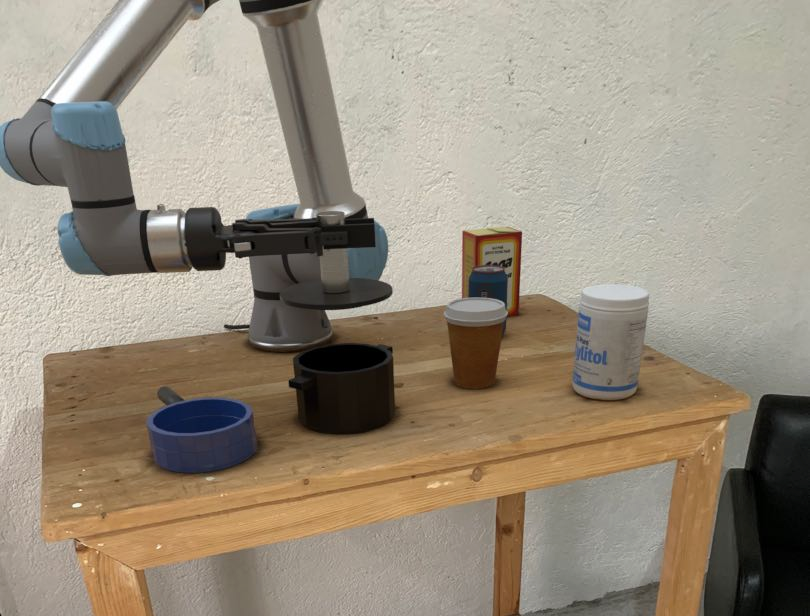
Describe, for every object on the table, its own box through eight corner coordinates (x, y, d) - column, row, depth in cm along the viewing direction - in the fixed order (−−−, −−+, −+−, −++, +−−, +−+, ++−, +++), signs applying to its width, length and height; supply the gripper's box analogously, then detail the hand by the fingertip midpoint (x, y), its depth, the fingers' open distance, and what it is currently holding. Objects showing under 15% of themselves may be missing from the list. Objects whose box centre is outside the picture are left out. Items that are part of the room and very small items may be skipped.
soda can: (496, 329, 149) (498, 262, 143) (512, 338, 144) (514, 270, 138) (462, 333, 148) (462, 266, 142) (476, 343, 142) (477, 273, 136)
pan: (141, 446, 106) (133, 411, 103) (234, 424, 112) (229, 390, 109) (173, 482, 96) (165, 444, 93) (273, 455, 102) (268, 419, 99)
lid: (257, 304, 104) (246, 217, 99) (332, 282, 114) (326, 201, 109) (341, 320, 96) (334, 226, 91) (415, 294, 106) (413, 208, 101)
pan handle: (156, 400, 114) (153, 386, 113) (171, 397, 115) (169, 382, 114) (180, 422, 106) (177, 406, 105) (195, 418, 107) (193, 403, 106)
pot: (265, 426, 111) (257, 367, 106) (354, 387, 123) (350, 333, 119) (338, 449, 103) (333, 386, 99) (424, 405, 116) (423, 347, 112)
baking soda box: (474, 320, 155) (475, 233, 147) (461, 312, 160) (462, 228, 152) (518, 315, 158) (522, 229, 150) (504, 307, 163) (507, 224, 155)
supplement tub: (559, 393, 119) (566, 293, 111) (591, 376, 125) (599, 280, 117) (619, 407, 113) (630, 302, 106) (649, 388, 119) (662, 288, 112)
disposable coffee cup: (502, 393, 119) (504, 313, 113) (439, 391, 121) (438, 311, 115) (507, 373, 127) (510, 297, 121) (449, 371, 129) (449, 296, 123)
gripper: (170, 218, 91) (373, 210, 92) (196, 199, 106) (372, 191, 106) (181, 285, 95) (377, 277, 96) (205, 257, 110) (375, 250, 110)
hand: (374, 232), depth 101 cm, fingers closed on lid, 4 cm apart
